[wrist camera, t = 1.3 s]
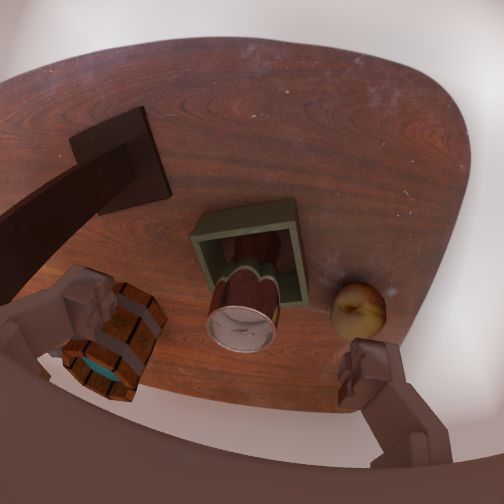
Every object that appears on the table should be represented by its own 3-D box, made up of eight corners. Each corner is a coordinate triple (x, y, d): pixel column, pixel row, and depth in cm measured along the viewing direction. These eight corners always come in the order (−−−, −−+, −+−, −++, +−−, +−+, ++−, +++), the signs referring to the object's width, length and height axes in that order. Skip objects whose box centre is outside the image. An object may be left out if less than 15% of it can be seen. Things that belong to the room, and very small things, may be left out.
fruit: (381, 268, 39) (395, 308, 33) (375, 311, 44) (384, 351, 37) (328, 271, 41) (333, 312, 34) (327, 314, 45) (330, 356, 38)
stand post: (143, 105, 31) (-61, 205, 9) (172, 195, 37) (43, 370, 15) (72, 137, 34) (-90, 241, 11) (102, 212, 40) (-22, 351, 18)
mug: (162, 289, 46) (125, 364, 34) (171, 343, 54) (145, 411, 41) (66, 270, 48) (20, 327, 35) (85, 322, 55) (51, 376, 43)
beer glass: (289, 263, 41) (284, 352, 28) (239, 270, 42) (217, 356, 30) (278, 217, 37) (269, 300, 25) (224, 226, 39) (192, 308, 26)
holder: (295, 197, 35) (295, 220, 30) (308, 275, 41) (309, 305, 36) (203, 212, 38) (189, 236, 33) (227, 284, 44) (219, 313, 39)
